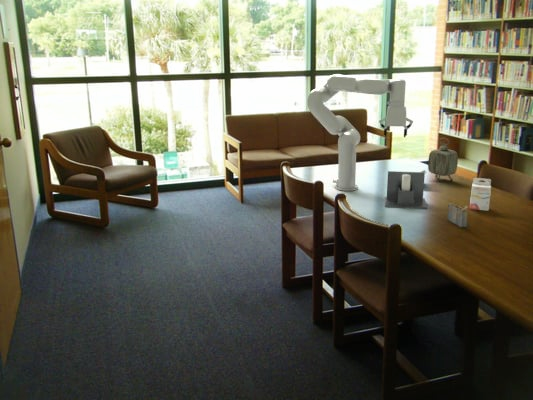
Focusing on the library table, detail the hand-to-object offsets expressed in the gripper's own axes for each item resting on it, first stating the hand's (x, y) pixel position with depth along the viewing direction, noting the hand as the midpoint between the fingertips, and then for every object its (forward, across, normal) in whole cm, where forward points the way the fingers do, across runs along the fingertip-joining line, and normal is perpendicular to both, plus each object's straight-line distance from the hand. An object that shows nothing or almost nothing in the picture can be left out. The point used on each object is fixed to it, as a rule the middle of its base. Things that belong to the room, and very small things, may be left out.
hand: (395, 136), depth 282 cm
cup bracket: (+30, +6, -20) cm, 37 cm away
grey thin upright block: (+31, +27, -47) cm, 63 cm away
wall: (+31, +12, +18) cm, 38 cm away
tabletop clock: (+31, +28, +31) cm, 52 cm away
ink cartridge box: (+31, +41, -24) cm, 56 cm away
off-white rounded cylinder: (+27, +6, -22) cm, 35 cm away
